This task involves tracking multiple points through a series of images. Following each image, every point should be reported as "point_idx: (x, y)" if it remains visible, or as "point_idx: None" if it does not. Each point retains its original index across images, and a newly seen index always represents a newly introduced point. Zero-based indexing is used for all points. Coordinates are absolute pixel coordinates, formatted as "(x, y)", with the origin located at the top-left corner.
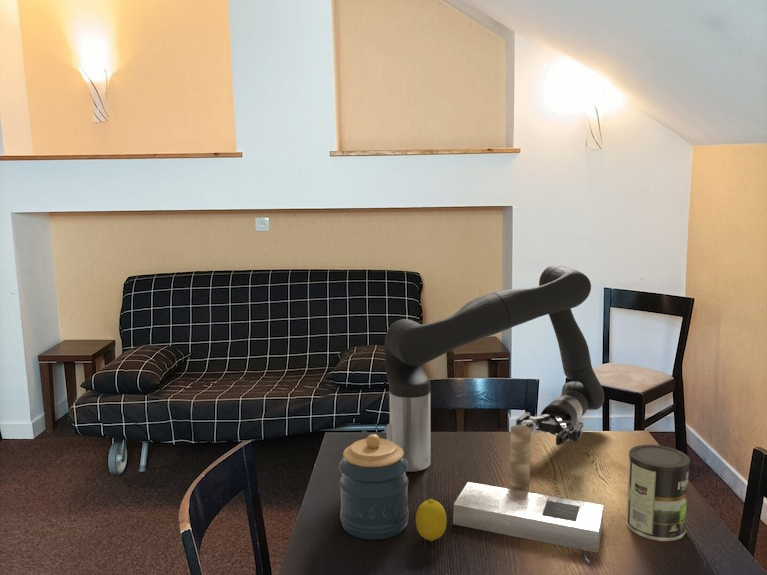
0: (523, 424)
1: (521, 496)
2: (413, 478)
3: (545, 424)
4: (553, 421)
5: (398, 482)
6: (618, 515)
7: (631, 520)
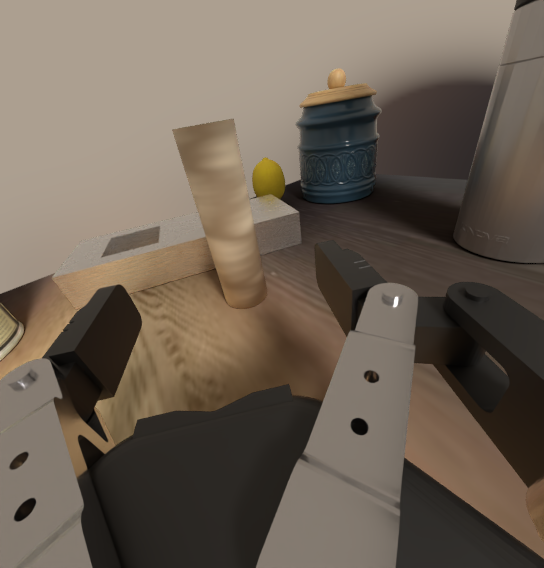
0: (356, 269)
1: (201, 230)
2: (425, 228)
3: (247, 405)
4: (164, 537)
5: (300, 136)
6: (28, 351)
7: (8, 311)
